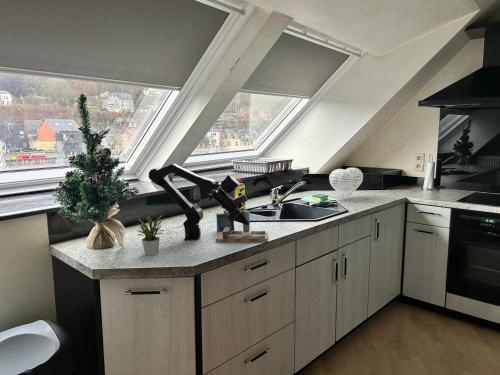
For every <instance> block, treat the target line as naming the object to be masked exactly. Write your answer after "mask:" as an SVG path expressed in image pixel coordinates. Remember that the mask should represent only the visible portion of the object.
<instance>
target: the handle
mask: <svg viewBox="0 0 500 375" xmlns="http://www.w3.org/2000/svg"><path fill="white" fill-rule="evenodd" d="M243 215H244V217H245V218H246V219H247V221H248V222H249V223H251V221H250V210H244V211H243ZM250 225H251V224H249V225H245V224H242V230H241V231H242V233H241V234H242V235H251V231H252V229H250V228H251V226H250Z"/></svg>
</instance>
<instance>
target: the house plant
mask: <svg viewBox="0 0 500 375" xmlns="http://www.w3.org/2000/svg"><path fill="white" fill-rule="evenodd" d="M161 217H164V214H163V215H160V216H158V217H157V218H156V219H155V220H154V222H153V220H152V217H150V216H149V215H148V216H147V218H146V220H147V222H148V225H147V224H146V223H145V222H144V221H143V220H141V219H140V218H137V220H138V221H139V222H140V223H141V224H139V223H138V225H139V226H140V229H141V230H136V232H139V233H137V236H142V237H143V238H142V239H141V242H142V246H143V251H144V254H145V256H155V255H157V254H158V253H159V248H160V247H159V246H160V237H159V236H156V235H161V234H162V235H164V234H163V232H165V230H164V229H161V227H162V225H160V224H161V223H162V222H164V221H165V220H166V218H164V219H161V220H160V218H161ZM148 226H149V228H148Z"/></svg>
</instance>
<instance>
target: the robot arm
mask: <svg viewBox="0 0 500 375" xmlns="http://www.w3.org/2000/svg"><path fill="white" fill-rule="evenodd" d="M170 174H174V175H176V176H178V177H180V178H183V179H184V180H186V181H188V182H190V183H193V184H194V185H196V187H197V188H199V189H200V190H201V191H203V192H205V193H207V194H208V193H209V194H208V202H211V201H212V199H214V201H216V202H217V204H219V205H220V206H221V209H224V210H226V212H228V214H229V215H228V220H229V221H230V222H232V221H234V222H237V223H240V224H242V225H243V224H245V225H249V224H250V223H251V222H250V223H249V222H248V221H247V219H246V218H245V217H244V215H243V211H245V207H244V203H246V202H247V201H248V200H249V199H248V197H247V195H246V193H245V192H244V193H242V192H241V191H240V192H238V194H237V196H236V197H233V196H230V195H229V194H233V192H234V191H235V190H237V188H238V187H239V186H240V185H241V184H240V182H239V180H237V179H236V178H235V177H233V176H231V175H230V174H227V175H226V177H225V179H224V178H223V179H224V180H222V181H216V180H215V179H214V178H211V177H208V176H202V175H199V174H197V173H194V172H192V171H190V170H188V169H186V168H184V167H182V166H180V165H178V164H177V163H171V164H168V165H166V166H164V167H156V168H152V169H150V170H149V172H148V178H149V180H150V181H151V182H153V183H154V184H155V185H157V186H159V187H160V188H162V189H163V191H165V192H166V193H167V194H168V196H169V197H171V198H172V200H173V201H174V202H175V203H176V204H177V205H178V206H179V208H181V209H182V211H183V214H184V216H185V218H186V220H185V221H184V222H182V225H183V228H184V236H185V237H184V238H183V239H184V241H198V240H199V239H200V238H201V237H202V235H201V234H202V231H201V227H200V222H201V221H202V220H203V218H204V212H203V209H202V208H200V206H199V204H198V203H194V204H192V203H191V202H190V201H189V200H188V199H187V198H186V197H185V196H184V195H183V194H182V192H180V191H179V190H178V188H177V187H176V186H175V185H174V183H172V182H171V180H170V178H169V175H170ZM219 188H220V189H219ZM217 189H218V190H217ZM250 225H251V224H250Z"/></svg>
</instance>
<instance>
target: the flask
mask: <svg viewBox="0 0 500 375" xmlns="http://www.w3.org/2000/svg"><path fill="white" fill-rule="evenodd" d="M228 215H229V214H228V212H227V211H226V210H225V209H224V210H223V213H222V212H221V213H219V212H217V213H216V231H217V232H218V233H223V230H224V228H225V227H230V233H231V231H235V221H232V222H230V221H229V220H228Z"/></svg>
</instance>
